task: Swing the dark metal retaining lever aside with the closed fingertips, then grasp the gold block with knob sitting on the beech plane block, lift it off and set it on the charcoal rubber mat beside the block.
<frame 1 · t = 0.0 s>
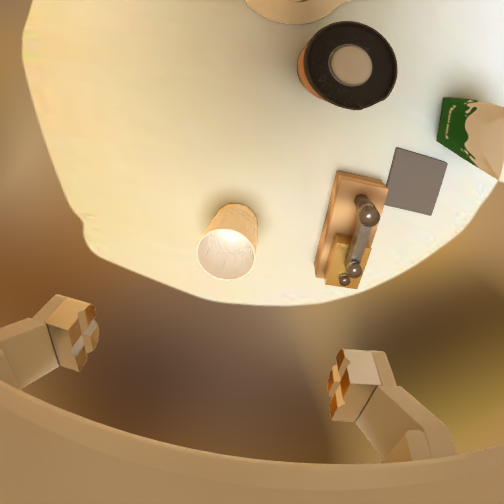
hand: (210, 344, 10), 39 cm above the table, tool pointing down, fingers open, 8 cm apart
lever: (361, 239, 41), point 9 cm above the table, hinge at 0.0°
rubber mat: (414, 182, 44), on the table
white cup: (236, 222, 51), on the table
gold block with knob: (344, 256, 48), point 4 cm above the table, touching plane body
plane body: (346, 223, 49), on the table
milk carton: (457, 124, 39), on the table
travel mug: (323, 70, 38), on the table
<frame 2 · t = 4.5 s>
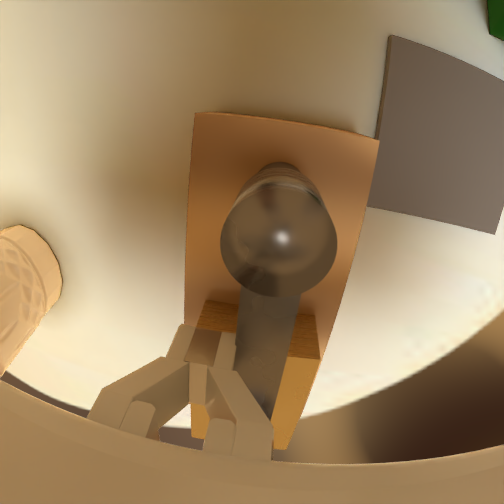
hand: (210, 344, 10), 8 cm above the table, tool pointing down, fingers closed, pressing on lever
lever: (261, 345, 9), point 9 cm above the table, hinge at 0.7°, touching gripper
rubber mat: (452, 140, 14), on the table
white cup: (30, 265, 20), on the table
gold block with knob: (251, 362, 16), point 4 cm above the table, touching plane body
plane body: (264, 267, 18), on the table
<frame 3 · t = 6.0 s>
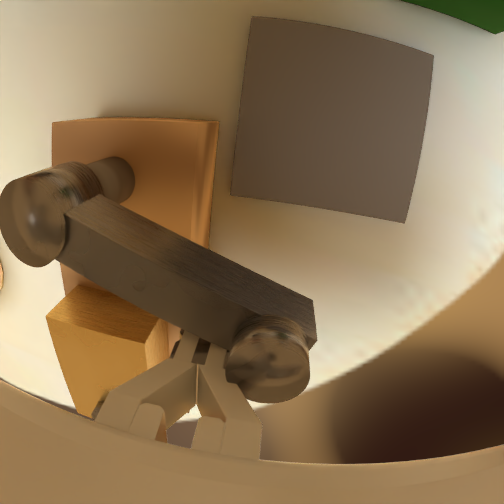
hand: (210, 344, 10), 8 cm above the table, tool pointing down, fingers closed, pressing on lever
lever: (142, 270, 8), point 9 cm above the table, hinge at 70.2°, touching gripper
rubber mat: (335, 117, 14), on the table
gold block with knob: (126, 348, 16), point 4 cm above the table, touching plane body
plane body: (148, 259, 18), on the table
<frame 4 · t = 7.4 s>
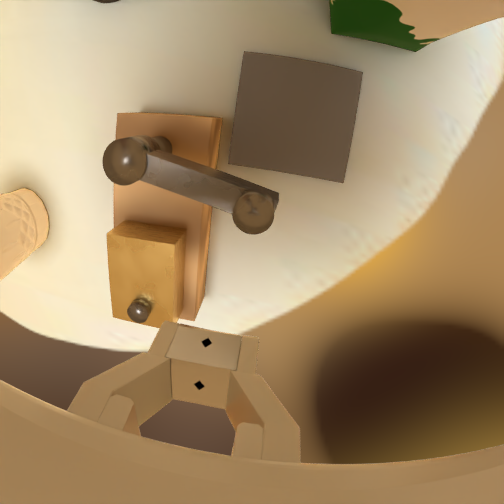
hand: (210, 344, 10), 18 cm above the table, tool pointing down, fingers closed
lever: (187, 179, 17), point 9 cm above the table, hinge at 77.3°
rubber mat: (295, 115, 23), on the table
white cup: (29, 217, 29), on the table
gold block with knob: (154, 266, 25), point 4 cm above the table, touching plane body
plane body: (171, 209, 27), on the table
milk carton: (374, 5, 19), on the table
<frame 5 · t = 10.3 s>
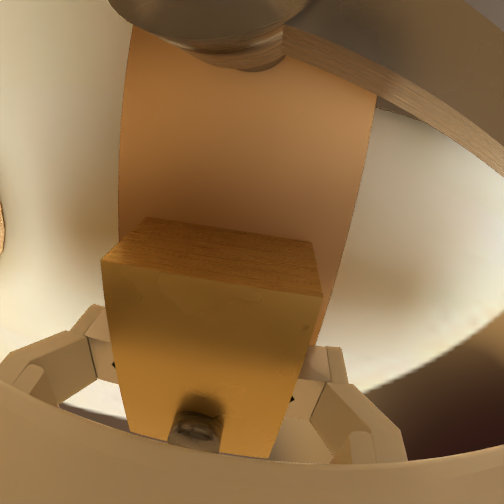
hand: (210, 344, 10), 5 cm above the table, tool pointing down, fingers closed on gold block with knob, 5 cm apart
lever: (472, 77, 3), point 9 cm above the table, hinge at 77.5°
rubber mat: (475, 44, 9), on the table
gold block with knob: (217, 323, 11), point 4 cm above the table, touching gripper, plane body
plane body: (242, 194, 13), on the table
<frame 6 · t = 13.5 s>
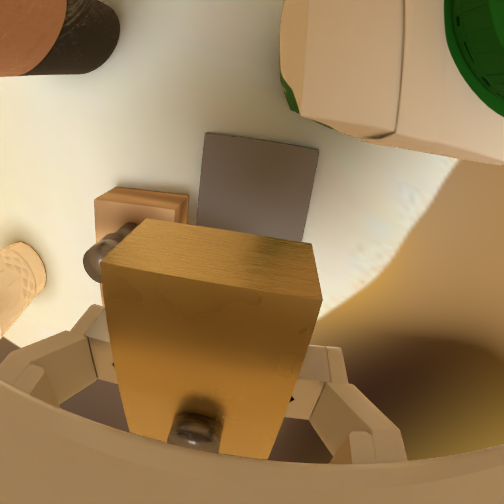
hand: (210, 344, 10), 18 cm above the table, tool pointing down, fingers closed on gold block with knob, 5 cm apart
lever: (152, 280, 21), point 9 cm above the table, hinge at 77.5°
rubber mat: (254, 193, 27), on the table
white cup: (27, 266, 32), on the table
gold block with knob: (216, 324, 11), point 17 cm above the table, touching gripper
plane body: (149, 270, 31), on the table
milk carton: (337, 73, 22), on the table
travel mug: (87, 38, 22), on the table
when the fingers open (4 cm above the table, at t = 16.5 s): gold block with knob drops 2 cm, resting on rubber mat.
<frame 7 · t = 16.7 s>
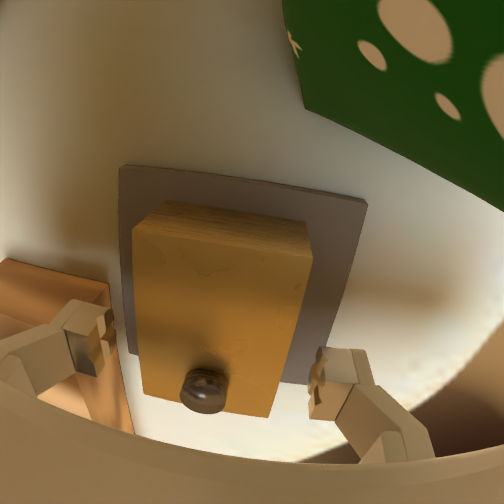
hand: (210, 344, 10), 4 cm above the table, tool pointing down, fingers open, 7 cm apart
rubber mat: (228, 286, 13), on the table
gold block with knob: (223, 294, 13), point 1 cm above the table, touching rubber mat
plane body: (77, 379, 17), on the table
milk carton: (404, 36, 9), on the table
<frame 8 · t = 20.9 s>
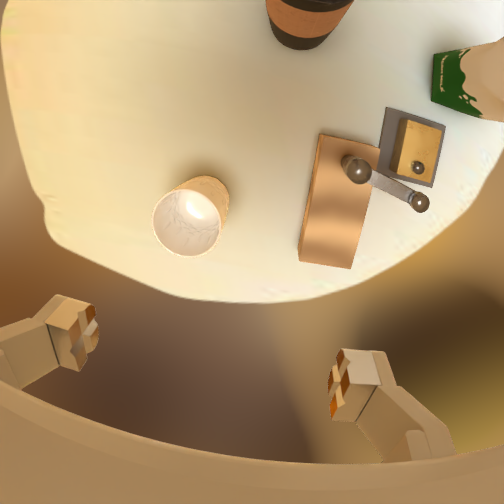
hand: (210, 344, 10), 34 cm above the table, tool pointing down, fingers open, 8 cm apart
lever: (387, 184, 32), point 9 cm above the table, hinge at 77.5°
rubber mat: (410, 148, 38), on the table
white cup: (205, 198, 44), on the table
gold block with knob: (411, 148, 37), point 1 cm above the table, touching rubber mat
plane body: (334, 198, 42), on the table
milk carton: (452, 83, 33), on the table
travel mug: (299, 25, 33), on the table
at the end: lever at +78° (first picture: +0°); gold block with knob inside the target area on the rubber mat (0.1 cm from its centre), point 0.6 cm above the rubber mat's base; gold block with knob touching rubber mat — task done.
